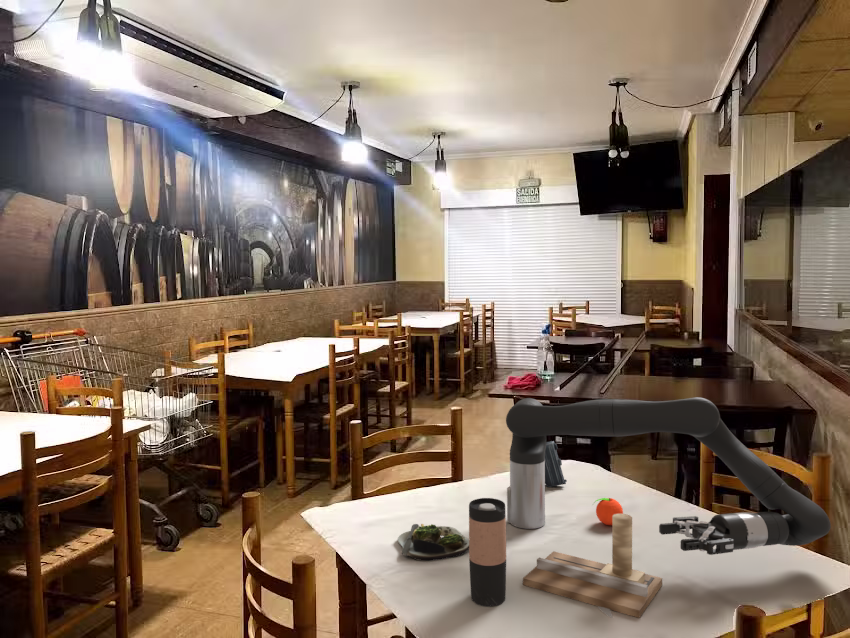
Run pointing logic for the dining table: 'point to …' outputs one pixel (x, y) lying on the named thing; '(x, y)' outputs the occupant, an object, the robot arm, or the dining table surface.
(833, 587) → the dining table surface
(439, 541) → the salad plate
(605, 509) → the clementine
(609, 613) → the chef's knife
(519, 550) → the dining table surface
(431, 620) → the dining table surface
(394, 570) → the dining table surface
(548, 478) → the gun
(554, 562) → the board
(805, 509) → the robot arm
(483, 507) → the travel mug
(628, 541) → the post
